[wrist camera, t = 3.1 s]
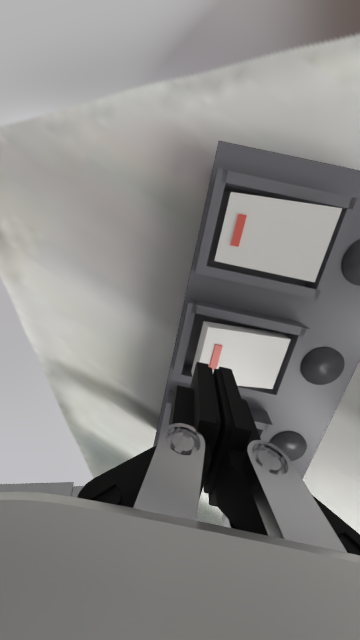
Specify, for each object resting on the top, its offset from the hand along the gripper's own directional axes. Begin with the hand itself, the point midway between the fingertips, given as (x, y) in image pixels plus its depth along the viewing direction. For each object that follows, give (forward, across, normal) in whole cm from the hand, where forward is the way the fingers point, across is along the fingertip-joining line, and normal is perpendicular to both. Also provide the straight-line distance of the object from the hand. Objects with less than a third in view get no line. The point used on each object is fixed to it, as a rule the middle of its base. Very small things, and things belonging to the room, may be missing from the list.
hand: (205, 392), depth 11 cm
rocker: (+6, -3, -8) cm, 10 cm away
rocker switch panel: (+11, -5, 0) cm, 12 cm away
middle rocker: (+6, -3, 0) cm, 7 cm away
